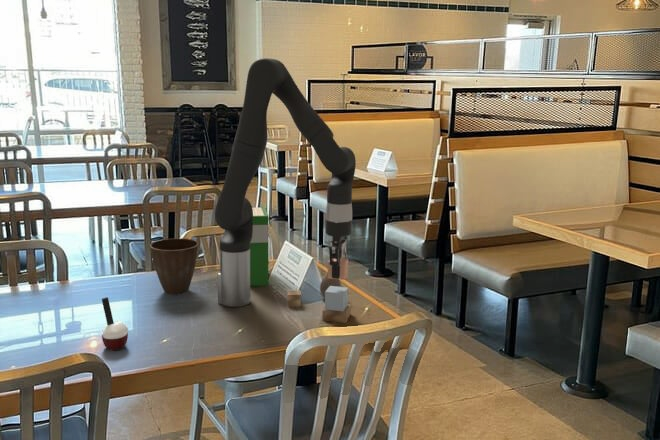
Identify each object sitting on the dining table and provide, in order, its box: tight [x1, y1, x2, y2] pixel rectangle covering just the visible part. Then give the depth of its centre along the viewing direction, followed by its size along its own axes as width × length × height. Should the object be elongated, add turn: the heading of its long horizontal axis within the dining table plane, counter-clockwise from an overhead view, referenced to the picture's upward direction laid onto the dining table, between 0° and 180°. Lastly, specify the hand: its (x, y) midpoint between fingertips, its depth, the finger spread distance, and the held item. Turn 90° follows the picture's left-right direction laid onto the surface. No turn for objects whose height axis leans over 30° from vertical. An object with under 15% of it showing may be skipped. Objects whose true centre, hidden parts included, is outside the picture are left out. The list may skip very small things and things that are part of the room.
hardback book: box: [250, 204, 269, 287], centre depth 216 cm, size 18×7×24 cm, turn 11°
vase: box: [319, 272, 343, 300], centre depth 198 cm, size 7×7×9 cm
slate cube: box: [324, 286, 349, 312], centre depth 183 cm, size 6×6×6 cm
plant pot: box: [149, 238, 199, 296], centre depth 201 cm, size 15×15×16 cm
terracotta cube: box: [327, 257, 349, 281], centre depth 181 cm, size 5×5×5 cm
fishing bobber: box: [101, 297, 129, 351], centre depth 160 cm, size 10×6×12 cm, turn 22°
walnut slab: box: [322, 303, 352, 324], centre depth 184 cm, size 7×7×4 cm
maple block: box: [286, 289, 302, 308], centre depth 193 cm, size 4×4×4 cm
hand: (337, 274), depth 181 cm, fingers closed on terracotta cube, 5 cm apart
